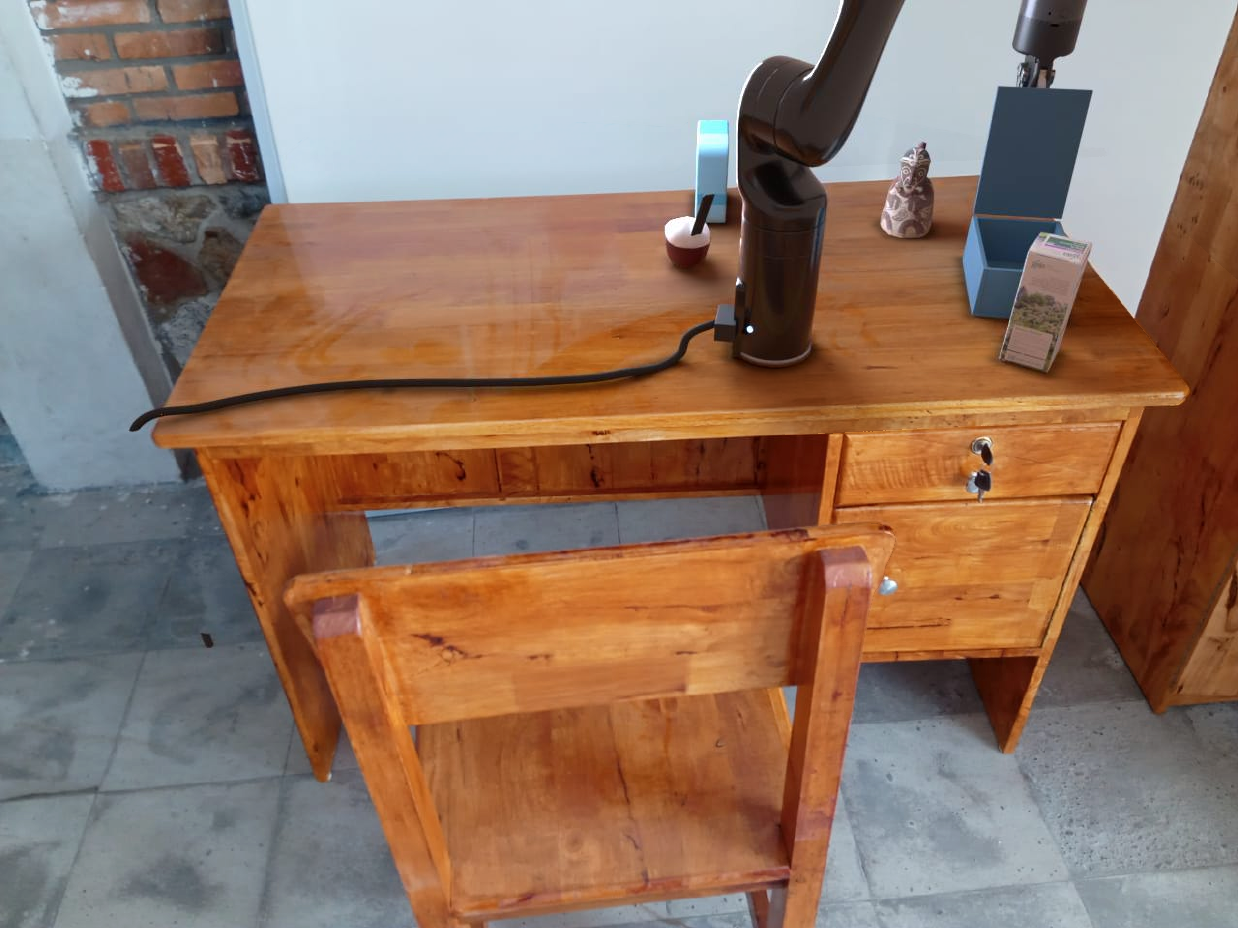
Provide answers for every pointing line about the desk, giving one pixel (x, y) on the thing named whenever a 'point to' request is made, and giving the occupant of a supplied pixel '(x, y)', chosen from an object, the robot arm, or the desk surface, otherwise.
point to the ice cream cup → (689, 237)
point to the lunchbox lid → (1031, 151)
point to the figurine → (910, 197)
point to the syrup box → (1044, 300)
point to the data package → (712, 167)
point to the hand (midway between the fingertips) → (1017, 147)
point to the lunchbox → (999, 260)
